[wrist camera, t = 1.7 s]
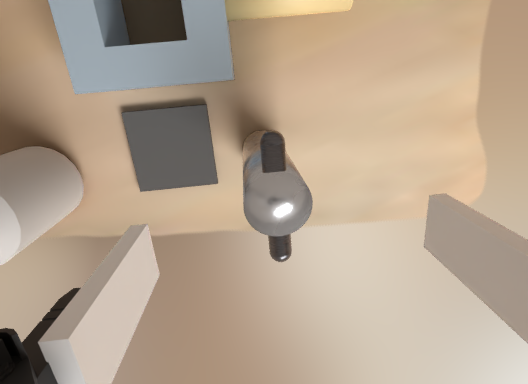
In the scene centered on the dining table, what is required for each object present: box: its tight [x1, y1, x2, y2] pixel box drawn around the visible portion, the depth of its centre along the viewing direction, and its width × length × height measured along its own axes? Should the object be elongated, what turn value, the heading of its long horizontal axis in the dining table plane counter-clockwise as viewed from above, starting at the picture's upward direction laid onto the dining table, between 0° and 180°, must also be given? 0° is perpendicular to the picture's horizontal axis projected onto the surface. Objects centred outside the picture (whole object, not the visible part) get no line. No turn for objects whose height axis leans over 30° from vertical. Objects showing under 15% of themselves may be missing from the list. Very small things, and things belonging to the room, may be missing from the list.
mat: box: [122, 104, 218, 192], centre depth 31 cm, size 8×8×1 cm
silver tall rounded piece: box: [243, 130, 312, 262], centre depth 25 cm, size 4×8×15 cm, turn 5°
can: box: [0, 146, 84, 265], centre depth 26 cm, size 8×8×12 cm
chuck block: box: [48, 0, 353, 94], centre depth 24 cm, size 22×12×6 cm, turn 95°
